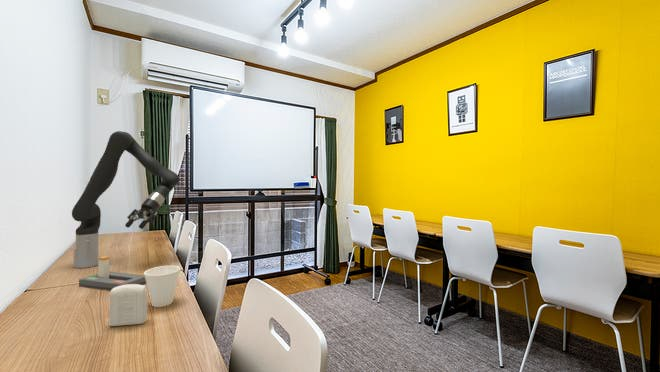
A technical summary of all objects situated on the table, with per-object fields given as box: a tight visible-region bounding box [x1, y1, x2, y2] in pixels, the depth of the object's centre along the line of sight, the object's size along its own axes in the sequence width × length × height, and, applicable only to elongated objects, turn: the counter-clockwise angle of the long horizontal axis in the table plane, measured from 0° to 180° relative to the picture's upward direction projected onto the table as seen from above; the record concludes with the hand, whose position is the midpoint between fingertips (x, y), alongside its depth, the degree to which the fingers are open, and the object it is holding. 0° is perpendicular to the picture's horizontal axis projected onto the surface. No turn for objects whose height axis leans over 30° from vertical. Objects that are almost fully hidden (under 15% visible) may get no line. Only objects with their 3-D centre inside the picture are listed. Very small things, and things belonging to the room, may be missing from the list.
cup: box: [143, 265, 181, 308], centre depth 108 cm, size 12×12×12 cm
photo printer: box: [109, 284, 148, 327], centre depth 93 cm, size 10×4×12 cm, turn 103°
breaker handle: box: [97, 255, 110, 279], centre depth 129 cm, size 3×2×10 cm
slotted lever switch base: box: [78, 270, 147, 292], centre depth 127 cm, size 24×12×3 cm, turn 75°
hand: (133, 227), depth 144 cm, fingers open, 8 cm apart
